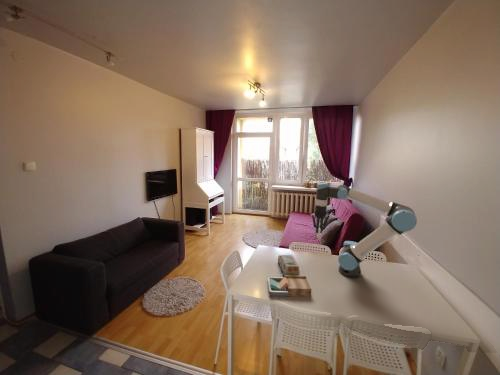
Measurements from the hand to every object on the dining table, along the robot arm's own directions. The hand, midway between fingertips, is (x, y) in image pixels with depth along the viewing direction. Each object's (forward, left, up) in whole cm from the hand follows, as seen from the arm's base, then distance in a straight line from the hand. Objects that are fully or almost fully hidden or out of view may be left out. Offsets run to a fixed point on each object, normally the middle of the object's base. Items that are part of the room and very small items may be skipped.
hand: (318, 237), depth 160 cm
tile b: (+32, +22, -23) cm, 45 cm away
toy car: (+20, -1, -27) cm, 34 cm away
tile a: (+26, +22, -24) cm, 42 cm away
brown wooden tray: (+18, +22, -26) cm, 39 cm away
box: (+31, +22, -26) cm, 46 cm away
